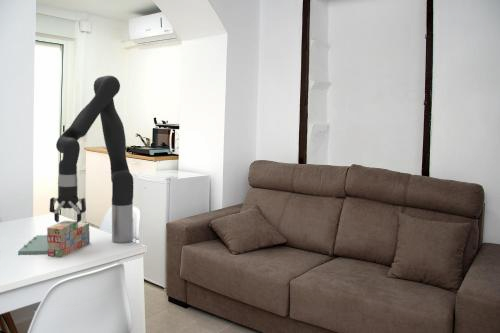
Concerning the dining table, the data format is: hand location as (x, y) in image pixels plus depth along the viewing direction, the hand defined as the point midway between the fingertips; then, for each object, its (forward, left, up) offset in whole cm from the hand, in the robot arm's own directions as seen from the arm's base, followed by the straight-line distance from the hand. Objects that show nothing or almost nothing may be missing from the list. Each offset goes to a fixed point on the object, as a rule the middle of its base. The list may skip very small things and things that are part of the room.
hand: (67, 222), depth 190 cm
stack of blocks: (0, -1, -12) cm, 12 cm away
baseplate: (+12, -6, -12) cm, 18 cm away
